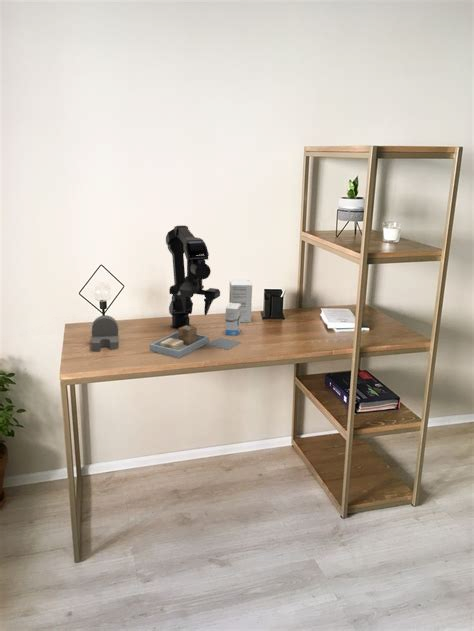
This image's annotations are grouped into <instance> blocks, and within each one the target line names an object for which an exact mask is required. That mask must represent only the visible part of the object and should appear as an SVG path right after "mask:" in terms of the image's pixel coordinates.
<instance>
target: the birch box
mask: <svg viewBox="0 0 474 631" xmlns="http://www.w3.org/2000/svg"><path fill="white" fill-rule="evenodd" d="M160 343H161V346H162V347H166V348H170V349H174V350H181V349H183V341H182V340H177V339H173V338H169V339H167V340H165V341H163V342H160Z"/></svg>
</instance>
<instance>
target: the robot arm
mask: <svg viewBox="0 0 474 631" xmlns="http://www.w3.org/2000/svg"><path fill="white" fill-rule="evenodd" d="M165 236H166V237H165V244H166V245H167V250H168V251H169V252H170V254H171V256H172V268H173V280H174V282H173V285H171V286H170V287H169V289H168V290H169V295H172V296H171V301H170V302H169V306H168V312H169V313H168V314H170V315H171V318H172V319H171V322H172V324H171V326H169V328H171V329H177V330H178V329H179V328H181V327H183V326H185V325H187V326H192V325H191V324H190V316H189V315H192V313H193V305H194V302H193V299H192V297H194V295H201V296H204V299H203V301H204V316H207V314H209V310H210V308H211V305H212V303H213V302H214V300H216V299H218V298H219V297H220V296H221V291H220V289H219V288H212V287H209V288H208V289H204V288H205V286H204V285H203V280H206V279H208V278H209V277H210V275H211V272H212V271H211V267H210V266H209V265H208V264H206V260H207V261H208V260H209V256H210V254H209V251H208V246H207V244H206V242H205V241H204V239H202V238H201V237H195V235H194V234H193V233H192V232H191V230H190V229H189V226H187V225H176V226H173V229H171V230H169V231H168V232H167V234H166V235H165ZM184 256H185V258H186V268H185V258H184ZM185 269H186V272H185Z"/></svg>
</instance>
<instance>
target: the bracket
mask: <svg viewBox="0 0 474 631" xmlns="http://www.w3.org/2000/svg"><path fill="white" fill-rule="evenodd" d="M119 347H120V346H119V326H118V322H117V320H116V319H115V318H114V317H112V316H110V315H100V316H98V317H96V318H95V319H94V320H93V322H92V325H91V351H92V352H97V353H98V352H99V353H100V352H101V350H102V348H109V349H110V350H111V351H112V350H113V351H114V350H118V349H119Z"/></svg>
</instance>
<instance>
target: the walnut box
mask: <svg viewBox="0 0 474 631" xmlns="http://www.w3.org/2000/svg"><path fill="white" fill-rule="evenodd" d="M177 330H178V331H177V332H178V340H182V341H183V345H187V346H189V345H191V344H193V343H195V342H197V334H198V332H197V327H195V326H192V325H191V326H187V325H185V326H183V327H181V328H179V329H177Z"/></svg>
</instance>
